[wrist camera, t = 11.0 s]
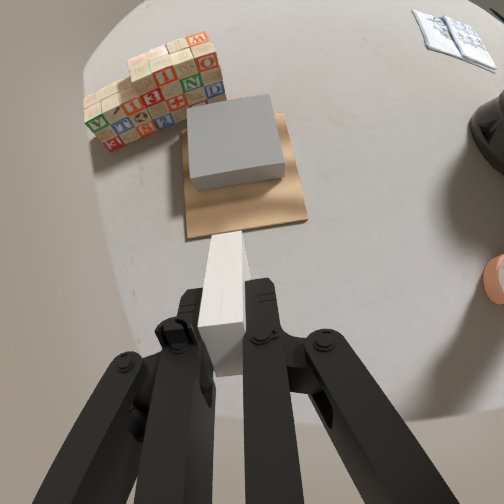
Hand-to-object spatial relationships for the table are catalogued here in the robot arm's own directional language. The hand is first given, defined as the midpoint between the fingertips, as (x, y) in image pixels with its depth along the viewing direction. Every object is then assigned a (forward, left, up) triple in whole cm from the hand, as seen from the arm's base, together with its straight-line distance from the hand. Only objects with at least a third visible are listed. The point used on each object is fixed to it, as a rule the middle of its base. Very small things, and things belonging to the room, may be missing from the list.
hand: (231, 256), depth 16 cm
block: (+11, -11, -21) cm, 26 cm away
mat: (+13, -13, -24) cm, 30 cm away
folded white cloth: (-3, -76, -25) cm, 80 cm away
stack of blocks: (+31, -15, -24) cm, 42 cm away
